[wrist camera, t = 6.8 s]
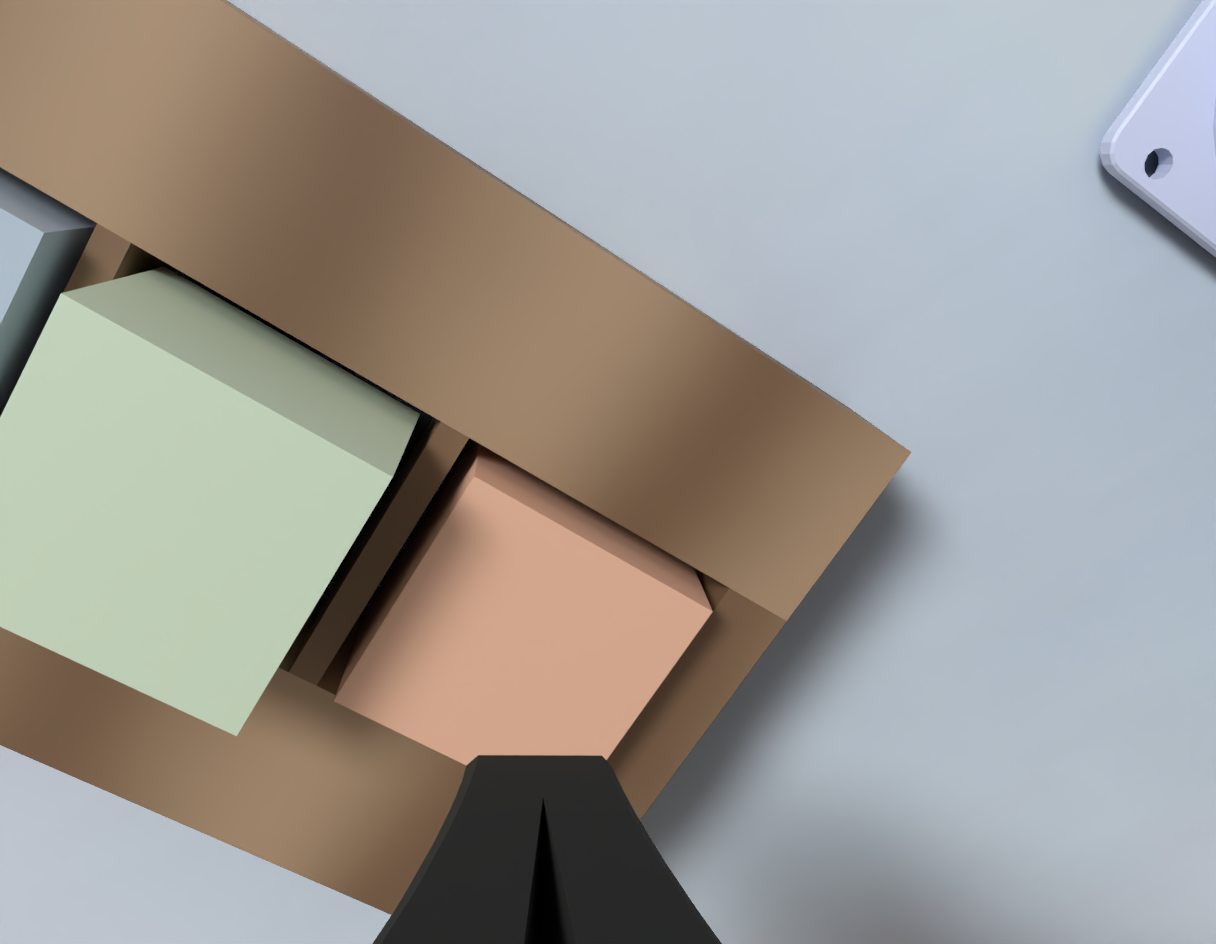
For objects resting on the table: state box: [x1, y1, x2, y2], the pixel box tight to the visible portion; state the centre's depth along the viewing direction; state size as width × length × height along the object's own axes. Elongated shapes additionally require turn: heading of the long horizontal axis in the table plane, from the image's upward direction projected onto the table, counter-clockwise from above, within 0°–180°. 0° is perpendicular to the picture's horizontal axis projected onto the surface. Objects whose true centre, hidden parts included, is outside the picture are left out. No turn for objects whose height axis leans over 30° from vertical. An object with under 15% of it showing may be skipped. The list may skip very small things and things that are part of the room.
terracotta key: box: [334, 439, 713, 765], centre depth 17 cm, size 4×4×3 cm
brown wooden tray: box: [0, 0, 911, 915], centre depth 16 cm, size 18×12×3 cm, turn 58°
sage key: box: [0, 267, 420, 736], centre depth 14 cm, size 4×4×3 cm
